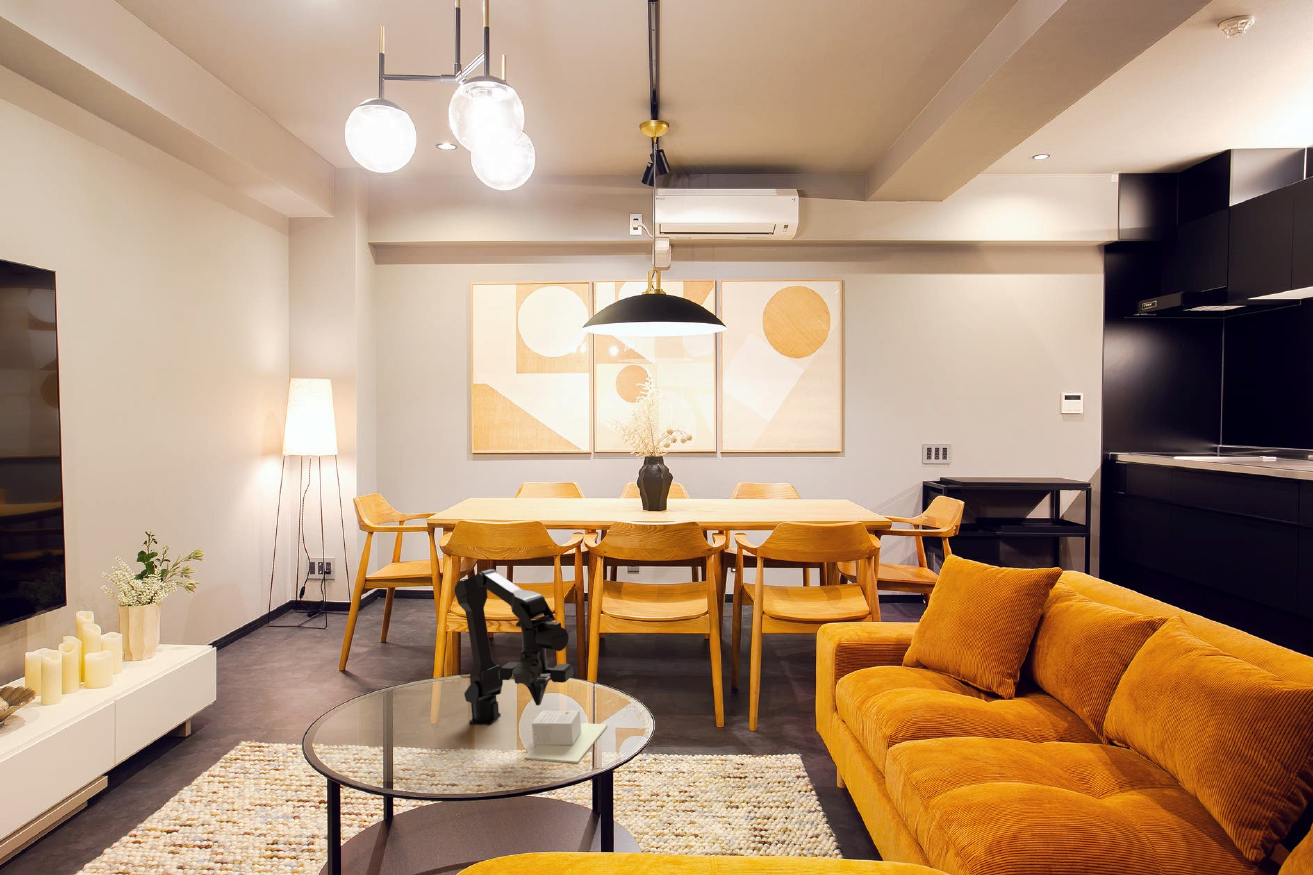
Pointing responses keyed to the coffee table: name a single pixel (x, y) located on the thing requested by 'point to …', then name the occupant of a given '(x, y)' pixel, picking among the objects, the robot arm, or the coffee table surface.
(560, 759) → the mat
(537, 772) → the coffee table surface
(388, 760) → the coffee table surface
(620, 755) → the coffee table surface
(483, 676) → the robot arm
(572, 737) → the small box
